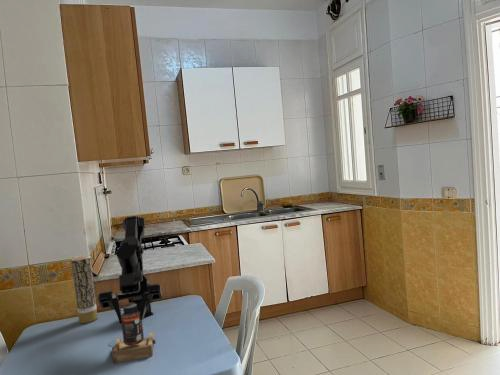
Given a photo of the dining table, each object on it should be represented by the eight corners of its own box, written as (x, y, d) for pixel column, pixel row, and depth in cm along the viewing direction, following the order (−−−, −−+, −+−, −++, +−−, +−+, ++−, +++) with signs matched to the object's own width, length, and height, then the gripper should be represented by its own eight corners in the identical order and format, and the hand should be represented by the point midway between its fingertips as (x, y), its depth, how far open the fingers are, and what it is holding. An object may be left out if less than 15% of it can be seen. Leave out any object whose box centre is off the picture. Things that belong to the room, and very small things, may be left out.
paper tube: (90, 323, 143) (83, 258, 142) (75, 324, 144) (67, 259, 143) (101, 316, 149) (94, 254, 148) (86, 317, 151) (78, 255, 150)
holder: (115, 347, 119) (114, 338, 119) (156, 339, 122) (155, 330, 122) (110, 363, 108) (109, 353, 108) (155, 355, 111) (154, 345, 111)
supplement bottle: (145, 342, 114) (141, 305, 114) (125, 348, 112) (121, 310, 111) (142, 335, 120) (138, 300, 119) (122, 341, 117) (118, 305, 117)
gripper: (95, 267, 117) (92, 314, 106) (157, 258, 120) (160, 303, 110) (102, 285, 125) (100, 331, 114) (160, 276, 128) (163, 320, 118)
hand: (131, 321), depth 114 cm, fingers closed on supplement bottle, 6 cm apart
